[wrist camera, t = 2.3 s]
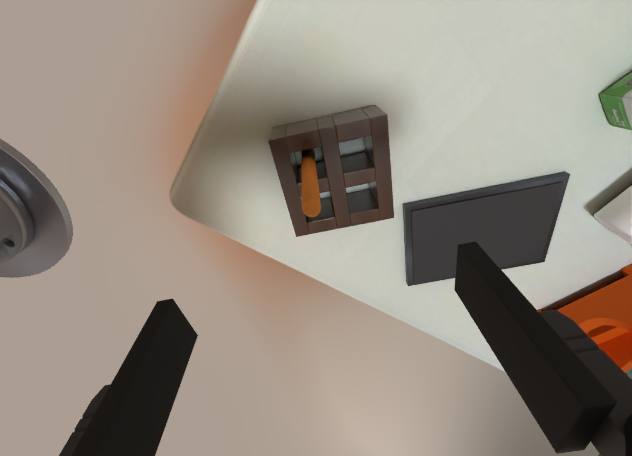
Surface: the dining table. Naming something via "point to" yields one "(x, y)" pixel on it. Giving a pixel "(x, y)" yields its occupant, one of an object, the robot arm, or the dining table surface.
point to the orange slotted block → (607, 318)
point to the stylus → (310, 184)
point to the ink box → (619, 103)
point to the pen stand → (337, 169)
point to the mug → (618, 215)
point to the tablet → (482, 226)
